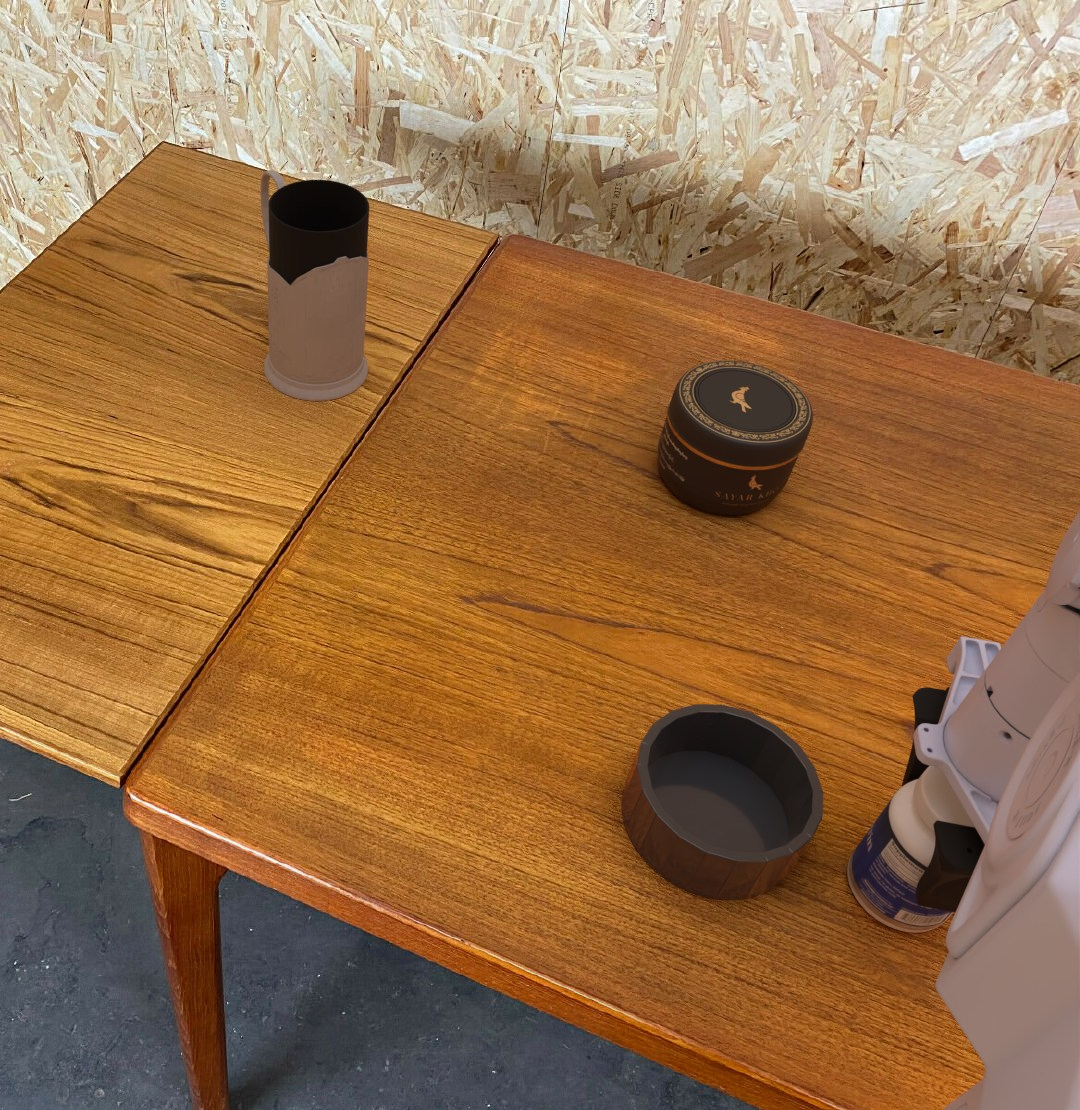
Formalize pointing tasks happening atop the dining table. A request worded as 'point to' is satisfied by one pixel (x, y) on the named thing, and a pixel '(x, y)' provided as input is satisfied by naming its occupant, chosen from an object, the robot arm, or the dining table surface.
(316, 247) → the glass holder
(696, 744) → the bowl
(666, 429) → the jar
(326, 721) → the dining table surface
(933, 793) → the pill bottle
